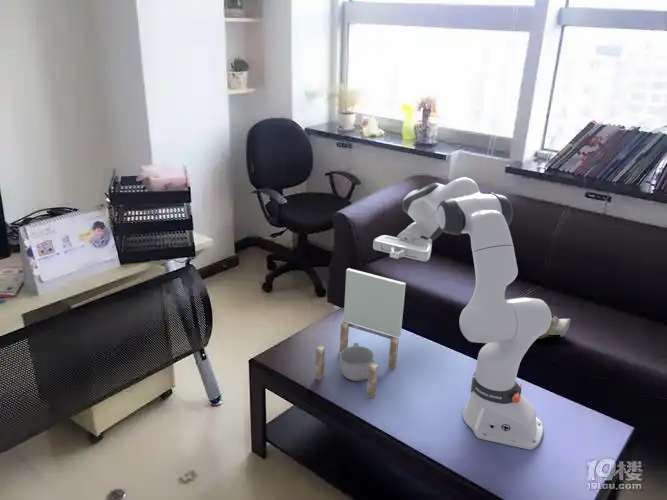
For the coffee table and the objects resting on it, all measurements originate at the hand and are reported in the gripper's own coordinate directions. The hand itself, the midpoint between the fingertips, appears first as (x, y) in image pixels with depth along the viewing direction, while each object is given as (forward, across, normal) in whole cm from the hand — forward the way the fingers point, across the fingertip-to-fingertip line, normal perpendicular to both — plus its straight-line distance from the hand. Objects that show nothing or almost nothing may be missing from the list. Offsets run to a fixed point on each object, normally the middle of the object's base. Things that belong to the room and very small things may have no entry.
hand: (393, 255), depth 195 cm
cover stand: (+25, 0, +32) cm, 41 cm away
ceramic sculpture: (-32, +50, +32) cm, 68 cm away
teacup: (+25, 0, +32) cm, 41 cm away
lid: (+16, 0, +11) cm, 19 cm away
